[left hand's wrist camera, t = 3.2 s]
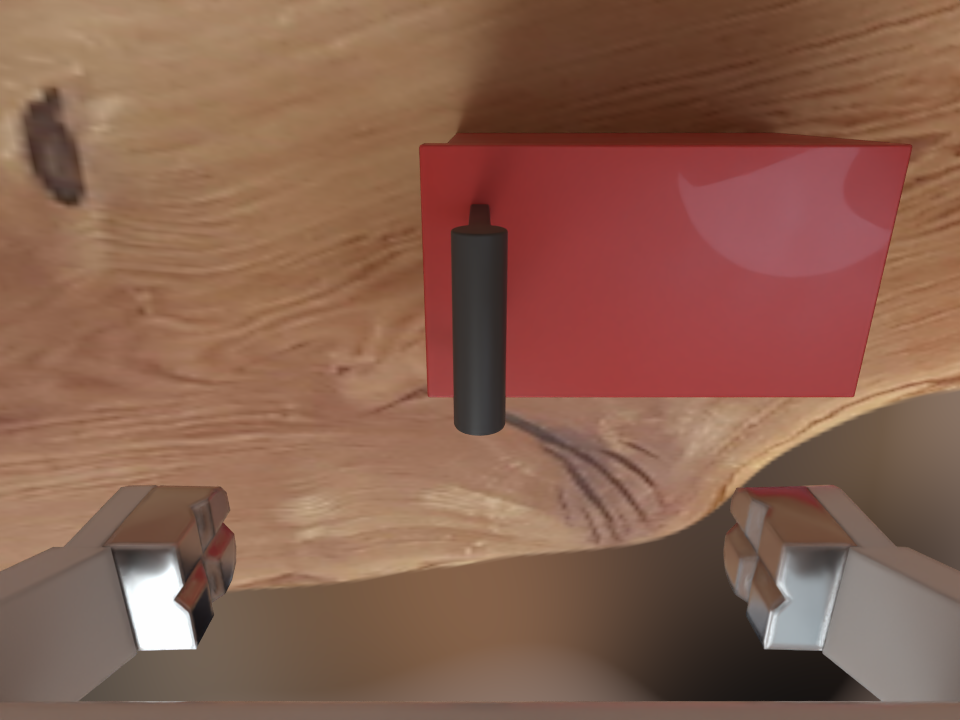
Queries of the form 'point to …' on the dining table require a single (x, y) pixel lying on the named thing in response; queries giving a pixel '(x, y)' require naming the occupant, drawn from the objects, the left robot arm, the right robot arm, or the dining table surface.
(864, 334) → the lid
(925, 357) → the dining table surface
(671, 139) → the chest
